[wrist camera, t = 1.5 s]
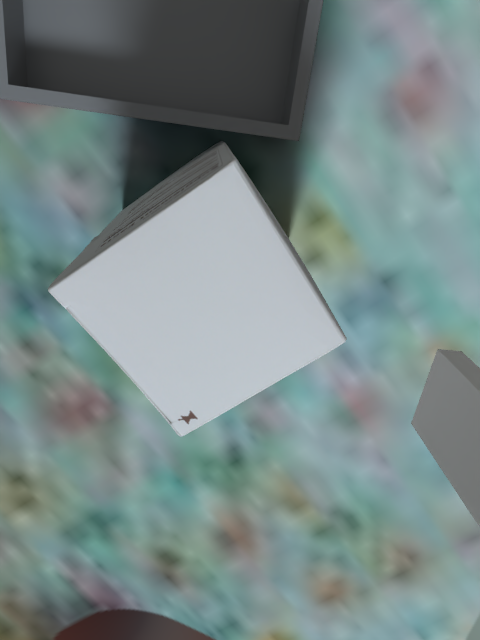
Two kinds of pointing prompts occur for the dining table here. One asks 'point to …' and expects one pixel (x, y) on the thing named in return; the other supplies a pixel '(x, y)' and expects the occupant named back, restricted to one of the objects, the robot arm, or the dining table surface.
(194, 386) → the supplement box
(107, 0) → the grey shallow rectangular tray
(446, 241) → the dining table surface
